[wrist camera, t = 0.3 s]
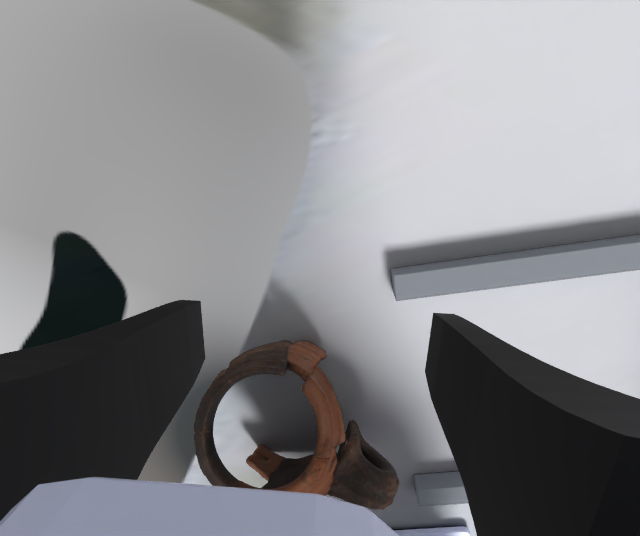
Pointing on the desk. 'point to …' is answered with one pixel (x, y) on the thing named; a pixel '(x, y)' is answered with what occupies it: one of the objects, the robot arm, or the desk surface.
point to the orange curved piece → (325, 464)
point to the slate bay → (497, 274)
